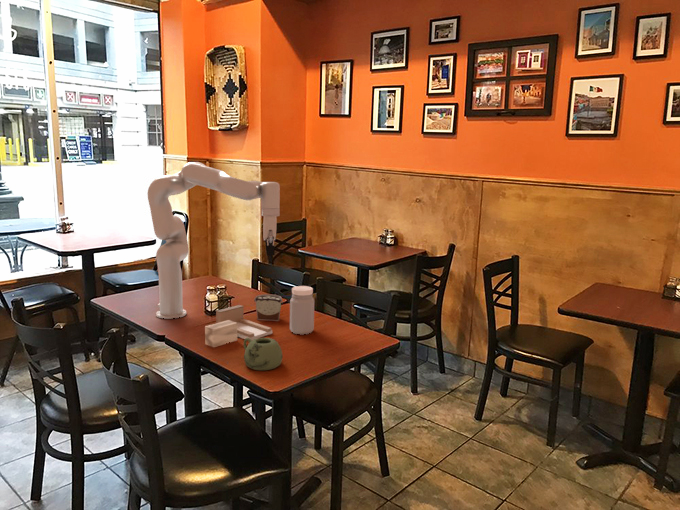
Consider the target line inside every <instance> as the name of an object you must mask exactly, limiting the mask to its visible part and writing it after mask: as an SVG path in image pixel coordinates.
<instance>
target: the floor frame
mask: <svg viewBox="0 0 680 510" xmlns="http://www.w3.org/2000/svg"><path fill="white" fill-rule="evenodd" d="M215 312H216V313H215V324H216V323H219V322H223V321H227V320H230V321H233V322H236V323H237V338H239V339H242V340H243V339H244V340H245V339H246V338H250V339H251V340H254V339H257V338H264V337H266V336H270V335H272V334H273V330H272V327H269V326H267V325H263V324H260V323H257V322H254V321H252V320H248V319H245V318H244V305H241V304H238V305H233V306H229V307H226V308H222V309H218V310H215Z"/></svg>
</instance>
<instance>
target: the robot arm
mask: <svg viewBox="0 0 680 510" xmlns="http://www.w3.org/2000/svg"><path fill="white" fill-rule="evenodd" d="M195 186H200V187H203V188H205V189H206V188H207V189H210V190H214V191H216V192H219V193H221V194H225V195H227V196H230V197H233V198H236V199H239V200H245V201H253V200H257V199H260V203H261V204H260V216H261V217H263V224H262V225H263V228H262V229H263V230H262V231H263V232H262V233H263V234H262V235H263V241H265V252H266V256H275V253H276V252H275V251H276V249H275V241H276V237H277V224H278V223H277V219H278V218H277V217H280V215H281V214H280V206H281V205H280V200H281V198H280V197H281V195H280V192H281V190H280V188H281V185H280V183H279V182H276V181H259V180H243V179H239V178H237V177H233V176H231V175H229V174H227V173H226V172H225V171H224V170H221V169H217V168H214V167H210V166H207V165H206V164H204V163H202V162H199V161H189V162H187V163H185V164H184V165H183V166H182V168H181V170H180V171H178V172H175V174H165V175H161V176H159V177H157V178H155V179H154V180H153V181H152V182H151V183H150V184H149V187H148V189H147V200H148V201H147V202H148V206H149V208H150V209H149V210H150V216H151V221H152V226H153V231H154V235H155V237H156V238H158V240H162V241H165V243H164V244H161V245H160V246H159V247H158V249H157V250H156V254H155V259H156V265H157V271H158V297H159V303H157V304H156V307H157V308H158V309H159V310H158V311H156V313H155V315H156V317H157V318H159V319H163V318H164V320H172V319H173V318H175V319H180V318H183V317H185V316H186V315H187V312H188V311H187V310H186V309H184V307H183V272H182V271H183V270H182V268H181V261H184V260H185V259H186V258H187V257H188V255H189V244H188V243H189V241H188V238H187V233H186V227H185V224H184V222H183V220H182V219H181V218H180V217H179V216H177V215H174V213H173V208H172V204H171V202H170V199H169V197H171V196H177V195H181V194H182V193H185V192H186V191H189V190H190V189H192V188H194V187H195ZM179 317H180V318H179Z"/></svg>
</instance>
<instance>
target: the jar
mask: <svg viewBox="0 0 680 510" xmlns="http://www.w3.org/2000/svg"><path fill="white" fill-rule="evenodd" d="M313 293H314V288H313V287H311V286H308V285H298V286H294V287H291V298H290V300H289V331H290V332H291V333H292V332H293V333H292V334H294V335H297V334H300V335H301V336H304V334H306V335H309V333H310V334H312V332H313V331H314V329H315V298H314V297H313V296H314V295H313Z"/></svg>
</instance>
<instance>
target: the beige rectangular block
mask: <svg viewBox="0 0 680 510" xmlns="http://www.w3.org/2000/svg"><path fill="white" fill-rule="evenodd" d="M204 337H205V338H204V342H205V343H204V344H205V345H206V346H209V347H211V348H217V347H219V346H224V345H226V343H227V344H229V342H230V343H233V342H236V341H238V337H237V323H236V322H233V321H230V320H227V321H223V322H219V323H216V322H215V323H212V324H208V325H205V326H204Z"/></svg>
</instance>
